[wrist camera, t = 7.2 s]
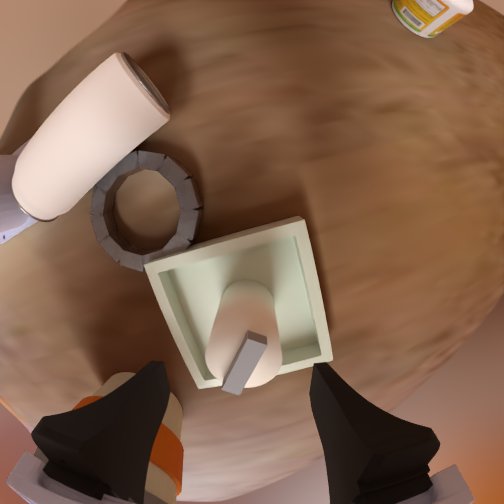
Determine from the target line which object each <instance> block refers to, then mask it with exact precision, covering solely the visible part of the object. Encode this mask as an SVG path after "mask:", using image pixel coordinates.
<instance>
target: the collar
mask: <svg viewBox="0 0 504 504" xmlns="http://www.w3.org/2000/svg"><path fill="white" fill-rule="evenodd" d="M144 169H148V170H154V171H158V172H159V173H160V174H161V175H162V176H163V177H164V178H166V179H167V180H168V181H169V182H170V183H171V184H172V185H173V186H174V188H175V191H176V195H177V198H178V201H179V205H180V208H181V213H180V217H179V222H178V227H177V232H176V234H175V235H174V236H173V238H172V239H171V240H170V241H169V242H168V243H167V245H166V246H164V247H161V248H157V249H154V250H151V251H150V250H146V249H142V248H139V247H135V246H132V245H131V244H130V243H129V242H128V241H127V240H126V239H125V238H124V237H123V236H122V235H121V234H120V233H119V232H118V228H117V225H116V222H115V218H114V215H113V207H114V201H115V195H116V192H117V190H118V189H119V188H120V186H121V185H122V184H123V182H124V181H125V180H126V178H127V177H128V176H130V175H132V174H135V173H137V172H139V171H142V170H144ZM192 178H193V175H192V174H191V173H190V172H189V171H188V170H187V169H185V168H184V167H183V166H182V165H181V164H180V163H179V162H178V161H177V160H176V159H175V158H172V157H171V156H168V155H164V154H159V153H153V152H147V151H140V150H139V151H134V152H132V153H130V154H128V155H126V156H125V157H124V158H123V159H122V160H121V161H119V162H118V163H117V164H116V165H115V166H114V167H113V168H112V169H111V170H110V171H109V172H107V173H106V174H105V175H104V176H103V177H102V178H101V179H100V180H99V181H98V182H97V183H96V184H95V185H96V186H97V188H94V190H93V196H92V203H91V210H90V214H91V215H94V216H92V217H90V218H91V222H92V225H93V229H94V232H95V235H96V238H97V241H98V242H100V241H102V242H101V244H100V246H101V247H102V248H103V250H104V251H105V252H106V253H107V254H108V255H109V256H110V257H111V258H112V259H113V260H114V261H115V262H116V263H118V262H120V264H119V265H121V266H124V267H127V268H131V269H134V270H137V271H141V272H144V271H146V270H145V267H144V264H146V263H147V262H148V261H151V260H155V259H158V258H161V257H165V256H168V255H172V254H175V253H178V252H182V251H184V250H186V249H187V248H188V247H189V246H190V245H191V244H192V243H193V241H194V240H195V239H196V237H197V235H198V231H199V226H200V221H201V217H202V213H203V209H201V208H198V207H201V206H203V203H202V200H201V197H200V193H199V190H198V186H197V183H196V179H192Z"/></svg>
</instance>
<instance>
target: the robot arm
mask: <svg viewBox="0 0 504 504" xmlns="http://www.w3.org/2000/svg"><path fill="white" fill-rule="evenodd" d="M29 141H30V139H29V140H28V141H26V142H25V143H24V144H23V145H22V146H21V147H19V148H18V149H17V150H16V151H15V152H14V153H13V154H11V155H0V244H3V243H5V242H6V241H8V240H9V239H11V238H12V237H14V236H15V235H17V234H18V233H20V232H21V231H23V230H25V229H26V228H28V227H29V226H31V225H33V224H34V223H36V222H38V221H37V220H35V219H33V218H31V217H29V216H28V215H27V214H25V213H24V212H23V211H22V210H21V209H20V208H19V206H18V205H17V204H16V202H15V200H14V198H13V196H12V193H11V189H10V179H11V176H12V174H13V172H14V171H15V165H16V161H17V159H18V157H19V155H20V154H21V152H22V151H23V149H24V148H25V146H26V145H27V144H28V142H29ZM170 392H171V391H170V388H169V383H168V379H167V375H166V371H165V366H164V362H160V361H151V362H150V363H148V364H147V365H146V366H145V367H144V368H142V369H141V370H140V371H139V372H138V373H136V374H135V375H134V376H133V377H131V378H130V379H129V380H128V381H126V382H125V383H124V384H122V385H121V386H119V387H118V388H116V389H115V390H114V391H112V392H111V393H109V394H107V395H106V396H104V397H102V398H100V399H98V400H96V401H94V402H92V403H90V404H88V405H85V406H83V407H81V408H78V409H75V410H72V411H68V412H65V413H61V414H56V415H51V416H45V417H43V418H42V419H41V420H40V422H39V423H38V424H37V426H36V427H35V428H34V430H33V431H32V433H31V435H32V438H33V440H34V442H35V444H36V445H37V446H38V448H39V449H40V450H41V451H42V453H43V454H44V455H45V456H46V457H47V459H48V462H47V464H46V463H45V462H43V461H42V460H40V459H39V458H37V457H35V456H34V455H32V454H30V453H28V452H26V451H25V452H24V454H23V455H22V457H21V458H20V460H19V461H18V463H17V464H16V466H15V467H14V469H13V471H12V472H11V474H10V475H9V477H8V478H7V480H6V483H7V484H8V485H9V486H10V487H11V488H12V489H13V490H14V491H15V492H17V493H18V494H19V495H20V496H21V497H22V498H24V499H25V500H26V501H27V502H28V503H30V504H144V492H145V484H146V477H147V471H148V466H149V461H150V456H151V452H152V447H153V444H154V441H155V438H156V436H157V433H158V431H159V428H160V425H161V423H162V420H163V417H164V415H165V412H166V409H167V406H168V402H169V397H170ZM309 394H310V401H311V407H312V412H313V416H314V419H315V422H316V426H317V429H318V432H319V436H320V439H321V442H322V446H323V450H324V455H325V461H326V468H327V476H328V484H329V494H330V504H471V503H472V502H474V500H475V499H474V496H473V495H472V493H471V491H470V489H469V487H468V485H467V483H466V482H465V480H464V478H463V476H462V475H461V473H460V471H459V469H458V467H457V466H456V465H452V466H450V467H448V468H446V469H445V470H442V471H440V472H438V473H436V474H434V475H433V476H432V477H429V475H428V472H429V471H430V469H429V466H428V463H429V462H430V460H431V459H432V458H433V457H434V456H435V454H436V453H437V451H438V450H439V447H440V442H439V440H438V439H437V437H436V435H435V433H434V432H433V430H432V429H431V428H428V427H425V426H421V425H417V424H414V423H411V422H408V421H405V420H402V419H400V418H398V417H395V416H393V415H391V414H389V413H387V412H385V411H383V410H382V409H380V408H378V407H377V406H375V405H374V404H372V403H370V402H369V401H367V400H366V399H365V398H363V397H362V396H361V395H360V394H358V393H357V392H356V391H355V390H354V389H353V388H351V387H350V386H349V385H348V384H347V383H346V382H345V381H344V380H343V379H342V378H341V377H340V376H339V375H338V374H337V373H336V372H335V371H334V370H333V369H332V368H331V367H330V365H329V364H328V363H327V362H321V363H314V365H313V372H312V379H311V386H310V392H309Z"/></svg>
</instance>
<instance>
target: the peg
mask: <svg viewBox="0 0 504 504" xmlns="http://www.w3.org/2000/svg"><path fill="white" fill-rule="evenodd" d="M205 360H206V364H207V367H208V369H209V371H210V372H211V373H212V374H213V375H214V376H215V377H216V378H217V379H218V380H220V381H221V382H223V383H222V390H224V391H227V392H230V393H233V394H236V395H240V393H241V392H242V390H243V388H251V387H256V386H260V385H262V384H265V383H267V382H268V381H270V380H271V379H272V378H274V377H275V375H276V374H277V373H278V372H279V370H280V368H281V365H282V350H281V344H280V338H279V331H278V325H277V319H276V313H275V306H274V301H273V297H272V294H271V293H270V291H269V290H268V289H267V288H266V287H265V286H264V285H263V284H261V283H259V282H256V281H253V280H240V281H237V282H235V283H233V284H231V285H230V286H228V287H227V288H226V289H225V291H224V292H223V294H222V296H221V300H220V303H219V306H218V310H217V313H216V317H215V320H214V324H213V327H212V331H211V334H210V338H209V341H208V345H207V348H206V353H205Z"/></svg>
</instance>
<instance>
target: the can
mask: <svg viewBox="0 0 504 504" xmlns="http://www.w3.org/2000/svg"><path fill="white" fill-rule="evenodd" d="M170 114H172V111H171V108H170V107H169V105H168V103H167V102H166V100H165V99H164V97H163V96H162V94H161V93H160V92H159V90H158V89H157V88H156V86H155V85H154V84H153V82H152V81H151V80H150V78H149V77H148V76H147V75H146V73H145V72H144V71H143V70H142V69H141V68H140V66H139V65H138V64H137V63H136V62H135V61H134V60H133V59H132V58H131V57H130V56H129V55H128V54H127V53H125V52H121V53H114V54H113V55H112V56H110V57H109V58H108V59H106V60H105V61H104V62H103V63H102V64H100V65H99V66H98V67H97V68H96V69H95V70H94V71H92V72H91V73H90V74H89V75H88V76H87V77H86V78H85V79H84V80H83V81H82V82H81V83H80V84H79V85H78V86H77V87H75V88H74V89H73V91H72V92H71V93H70V94H69V95H68V96H67V97H66V98H65V99H64V100H63V101H62V102H61V103H60V104H59V105H58V106H57V108H56V109H55V110H54V111H53V112H52V113H51V114H50V116H49V117H48V118H47V119H46V120H45V122H44V123H43V124H42V125H41V126H40V128H39V129H38V130H37V132H36V133H35V134H34V135H33V137H32V138H31V139H30V141H29V142H28V144H27V145H26V146H25V148H24V149H23V151H22V152H21V154H20V155H19V157H18V159H17V161H16V165H15V171H14V172H13V174H12V176H11V179H10V189H11V193H12V196H13V198H14V200H15V202H16V204H17V205H18V206H19V208H20V209H21V210H22V211H23V212H24V213H25V214H27V215H28V216H29V217H31V218H33V219H35V220H37V221H41V222H50V221H53V220H55V219H56V218H57V217H58V216H59V215H61V214H64V213H66V212H68V211H69V210H70V209H71V208H72V207H73V206H74V205H75V204H76V203H77V202H78V201H79V200H80V199H81V198H82V197H83V196H84V195H85V194H86V193H87V192H88V191H89V190H90V189H91V188H92V187H93V186H94V185H95V184H96V183H97V182H98V181H99V180H100V179H101V178H102V177H103V176H104V175H105V174H106V173H107V172H109V171H110V170H111V169H112V168H113V167H114V166H115V165H116V164H117V163H118V162H119V161H121V160H122V159H123V158H124V157H125V156H126V155H127V154H129V153H130V152H131V151H132V150H133V149H134V148H136V147H137V146H138V145H139V144H140V143H142V142H143V141H144V140H145V139H146V138H148V137H149V136H150V135H151V134H153V133H154V132H155V131H156V130H158V129H159V128H160V127H162V126H163V125H164V124H165V123H167V122H168V121H169V120H170Z"/></svg>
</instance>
